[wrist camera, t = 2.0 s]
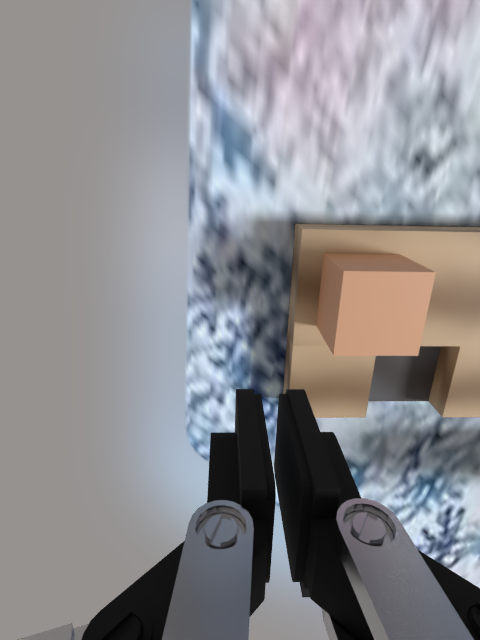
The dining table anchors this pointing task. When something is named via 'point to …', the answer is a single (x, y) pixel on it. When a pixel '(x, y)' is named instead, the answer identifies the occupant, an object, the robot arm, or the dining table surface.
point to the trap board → (390, 371)
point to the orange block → (373, 304)
